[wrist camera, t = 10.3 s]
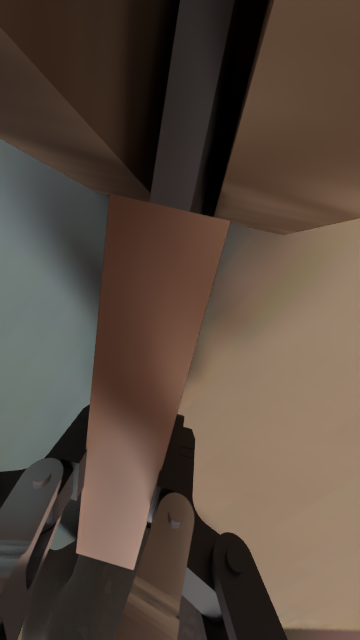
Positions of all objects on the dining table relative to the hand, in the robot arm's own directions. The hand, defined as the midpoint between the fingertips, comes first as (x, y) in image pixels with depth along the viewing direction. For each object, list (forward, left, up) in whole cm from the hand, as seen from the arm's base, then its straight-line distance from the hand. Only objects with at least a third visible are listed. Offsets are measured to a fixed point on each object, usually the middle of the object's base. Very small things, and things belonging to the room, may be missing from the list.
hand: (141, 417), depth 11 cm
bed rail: (0, -4, -2) cm, 4 cm away
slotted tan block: (0, -15, -2) cm, 15 cm away
